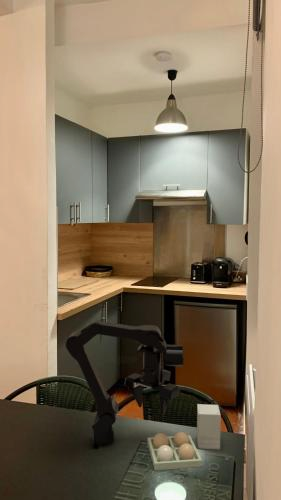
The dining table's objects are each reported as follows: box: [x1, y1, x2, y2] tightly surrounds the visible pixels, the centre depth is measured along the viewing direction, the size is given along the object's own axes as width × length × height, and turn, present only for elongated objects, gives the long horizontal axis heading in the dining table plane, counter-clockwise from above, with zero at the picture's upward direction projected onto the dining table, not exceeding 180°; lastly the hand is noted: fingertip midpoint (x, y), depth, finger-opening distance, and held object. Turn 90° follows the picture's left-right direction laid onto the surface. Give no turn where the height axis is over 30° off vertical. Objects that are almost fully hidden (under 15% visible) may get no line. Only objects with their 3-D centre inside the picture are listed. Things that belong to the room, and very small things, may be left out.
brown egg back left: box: [153, 432, 169, 449], centre depth 130 cm, size 5×5×5 cm
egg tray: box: [147, 434, 203, 471], centre depth 127 cm, size 14×14×3 cm
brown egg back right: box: [174, 431, 189, 448], centre depth 130 cm, size 5×5×5 cm
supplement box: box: [196, 403, 222, 450], centre depth 134 cm, size 7×7×13 cm
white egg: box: [157, 445, 173, 462], centre depth 123 cm, size 5×5×5 cm
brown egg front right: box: [179, 443, 195, 460], centre depth 124 cm, size 5×5×5 cm
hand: (151, 410), depth 133 cm, fingers open, 9 cm apart
